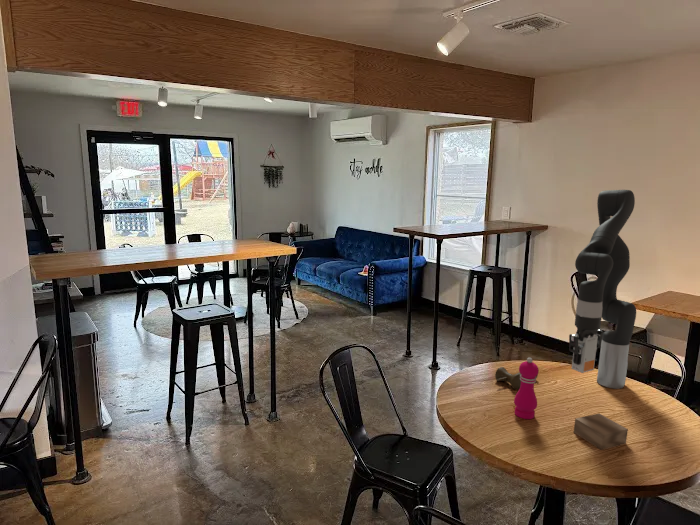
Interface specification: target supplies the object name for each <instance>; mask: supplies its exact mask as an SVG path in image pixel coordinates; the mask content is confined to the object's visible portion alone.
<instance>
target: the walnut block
mask: <svg viewBox="0 0 700 525" xmlns="http://www.w3.org/2000/svg"><path fill="white" fill-rule="evenodd" d="M628 432H629V429H628V428H626V427H625V426H623V425H622V424H619V423H617V422H616V421H614V420H612V419H610V418H608V417H606V416H605V415H602V413H594V414H589V415H586V416H581V417H580V416H579V417H576V418H574V428H573V433H574V434H575V435H576V436H578V437H580V438H581V439H583V440H585V441H586V442H588V443H589V444H590V445H592V446H595V447H596V448H597V449H599V450H601V451H603V450H606V449H610V448H614V447H618V446H621V445H626V444H627V437H628Z"/></svg>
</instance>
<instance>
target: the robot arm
mask: <svg viewBox="0 0 700 525" xmlns="http://www.w3.org/2000/svg"><path fill="white" fill-rule="evenodd" d="M635 199H636V198H635V194H634V192H633V191H632V190H630V189H611V190H602V191H600V192H599V194H598V197H597V200H596V201H597V203H596V204H597V214H598V215H597V216H598V223H599V224H598V225H599V226H598V227H596V229H595V230H594V232H593V233H592V235H591V238H590V241H589V242H588V244H587V245H586V246H585V247H584V248H583V249H582V250H581V251H580V252H579V253H578V255H577V257H576V259H575V260H574V261H575V262H574V266H575V269H576V270H577V272H578V273H580V274H583V275H584V274H585V275H593V276H597V278H596V279H594V280H584V281H582V282H580V284H579V287H578V298H577V303H576V307H575V308H576V309H575V319H574V326H575V327H576V328H577V329H576V331H575V333H574V334H571V333H570V334H569V335H568V338H569V339H568V342H569V343H568V345H569V346H568V349H569V352H571V353H573V352H574V357H573V356H572V360H573V362H574V363H575V364H577V365H580V364H581V356H582V354H581V353H582V351H583V348H584V346H585V343H584V342H583V344H582V345H581V344H578V341H579V340H580V341H583V339H584V337H586V338H590V336H592V337H596V336H598V339H597V347H596V351H597V350H598V349H600V352H599V359H598V366H597V369H598V370H597V376H596V382H597V384H599V385H601V386H603V387H606V388H610V389H615V390H616V389H617V390H618V389H623V388H624V387H625V385H626V381H627V380H626V379H627V370H628V367H629V366H628V364H629V362H628V358H629V349H630V343H631V339H632V336H633V333H634V327H635V322H636V318H637V308H636V305H635V304H634V303H632V302H628V301H625V300H621V299H618V298H617V291H618V286H619V284H620V283H621V282H622V281H623V279H624V278H625V276H626V275H627V273H628V272H629V269H630V264H631V263H630V260H631V258H630V255H631V254H630V249H629V247H628V245H627V244H626V242H625V241H624V239H622V237H621V236H620V232H621V231H622V229H623V227H624V226H625V225H626V224H627V222H628V220H629V219H630V218H631V215H632V213H633V211H634V208H635V204H636V202H635ZM602 320H603V321H605V322H608V323H609V324H610V323H611V324H614V325H616V328H615V330H606V331H604V330H601V326H602V325H601V323H602ZM578 346H580V348H579V350H578Z"/></svg>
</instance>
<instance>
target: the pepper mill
mask: <svg viewBox="0 0 700 525" xmlns="http://www.w3.org/2000/svg"><path fill="white" fill-rule="evenodd" d="M518 371H519V372H520V373H521V375H520V380H521V386H520V389H518V391H517V392H516V394H515V396H514V400H513V403H514V406H515V407H514V415H515V416H516V417H517V418H520V419H524V420H532V419H534V418H535V414H536V411H535V410H536V409H537V407H538V399H537V396H536V393H535V383H536V382H537V378H536V376H537V375H539V366H538V365H537V364H536V363H534V362H533V358H532V357H527V358H526V361H523V362H521V363H520V364H519V367H518ZM519 372H518V373H519ZM537 377H538V376H537Z"/></svg>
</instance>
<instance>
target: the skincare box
mask: <svg viewBox="0 0 700 525" xmlns="http://www.w3.org/2000/svg"><path fill="white" fill-rule="evenodd" d="M597 339H598V336H596V337H592V336H590V338H586V337H584V339H583V341H580V340H579V341H578V344H581V345H582V344H583V342H584V343H585V346H584V348H583V351H582V353H581V354H582V356H581V364H580V365H577V364H575V363H574V362H573V359H572V362H571V370H574V371H576V372H579V373H581V374H584V373H587V372H591V371H594V370H595V362H596V354H597V350H596V347H597V343H598V340H597ZM579 348H580V346H578V350H579ZM572 353H573V354H572V358H573V357H574V352H572Z"/></svg>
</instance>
